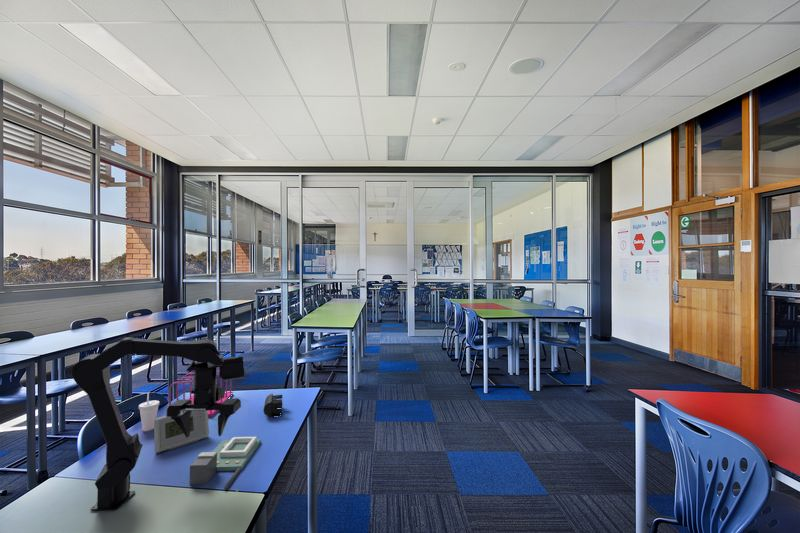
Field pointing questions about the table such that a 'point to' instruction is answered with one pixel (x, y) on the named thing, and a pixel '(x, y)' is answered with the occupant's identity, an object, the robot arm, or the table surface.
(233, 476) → the lead
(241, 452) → the header board
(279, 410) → the power adapter
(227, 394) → the file sorter
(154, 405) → the smoothie
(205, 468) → the plug
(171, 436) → the digital clock
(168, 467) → the table surface
